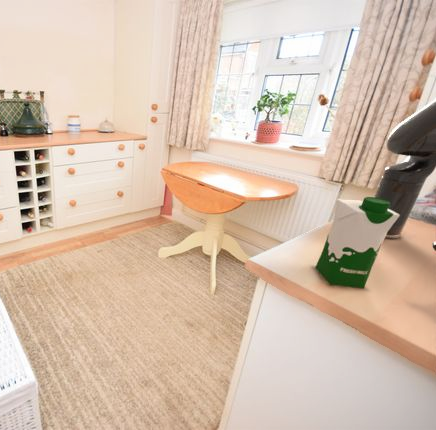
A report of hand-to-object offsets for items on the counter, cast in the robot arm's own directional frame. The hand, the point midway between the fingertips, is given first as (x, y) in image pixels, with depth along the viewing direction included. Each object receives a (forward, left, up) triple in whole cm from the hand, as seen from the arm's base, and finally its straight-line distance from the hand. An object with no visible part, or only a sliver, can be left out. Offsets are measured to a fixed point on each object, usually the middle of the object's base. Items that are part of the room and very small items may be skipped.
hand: (435, 249), depth 55 cm
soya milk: (0, -12, -13) cm, 17 cm away
